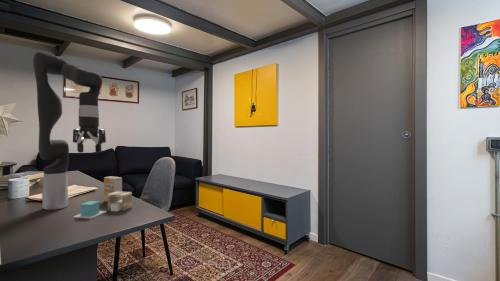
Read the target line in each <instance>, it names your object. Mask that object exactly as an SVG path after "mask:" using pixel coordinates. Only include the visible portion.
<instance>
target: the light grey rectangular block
mask: <svg viewBox="0 0 500 281" xmlns="http://www.w3.org/2000/svg"><path fill="white" fill-rule="evenodd" d="M119 211H122V200H120V201H117V202H115V203H112V204H111V210H110V212H119Z"/></svg>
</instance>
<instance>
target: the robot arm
mask: <svg viewBox="0 0 500 281" xmlns="http://www.w3.org/2000/svg"><path fill="white" fill-rule="evenodd" d="M32 62H33V65H32V66H33V72H34V78H35V83H36V98H37V99H36V100H37V101H36V103H37V115H38V129H39V130H38V153H39V154H38V155H39V157H40V158H41V160H56V161H54V162H53V163H51V164H50V165H47V166H45V167H44V168H43V188H41V194H42V195H41V197H42V199H41V201H42V204H41V205H42V209H44V210H46V211H47V210H48V211H49V210H50V211H52V210H59V209H64V208H66V207H68V206H69V183H68V182H69V181H68V180H69V179H68V178H69V177H68V168H69V156H70V150H69V149H70V147H69V143H68V142H67V140H64V139H51V133H52V130H53V128H54V126H55V125H56V124H57V123H58V121H59V120H60V119H61V117H62V114H63V104H62V103H63V102H62V99H61V97H60V95H59V94H58V93H57V91H56V90H55V89H54V88H53V86H52V84H51V83H50V80H49V77H48V75H56V76H57V75H58V76H63V77H64V78H65V79H67V80H69V81H71V82H73V83H74V84H75V85H77V86H80V87H86V88H89V90H88V91H81V92H80V93H79V95H78V103H79V104H78V126H79V129H78V128H77V129H76V128H74V129H72V143H75V144H76V146H77V148H76V149H77V152H78V153H84V142H85V141H87V140H92V141H94V143H95V146H94V147H95V148H94V149H95V151H94V152H95V154H100V153H101V152H102V144H105V143H106V142H107V140H106V139H107V138H106V137H107V136H106V130H105V128H104V129H101V128H99V127H100V111H99V95H100V92H101V88H102V84H103V79H102V75H101V74H99V73H97V72H95V71H90V70H86V69H83V68H82V67H79V66H76V65H73V64H70V63H69V62H66V60H64V59H63V58H61V57H59V56H56V55H52V54H49V53H45V52H40V51H39V52H36V53H34V55H33V60H32Z"/></svg>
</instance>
